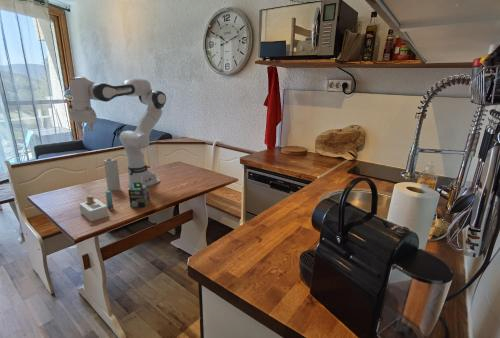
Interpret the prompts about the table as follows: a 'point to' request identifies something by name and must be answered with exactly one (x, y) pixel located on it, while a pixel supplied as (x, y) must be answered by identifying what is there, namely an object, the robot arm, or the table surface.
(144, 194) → the chalk box
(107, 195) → the teal dowel
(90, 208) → the hole block
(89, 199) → the beech dowel
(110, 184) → the paper towel roll
